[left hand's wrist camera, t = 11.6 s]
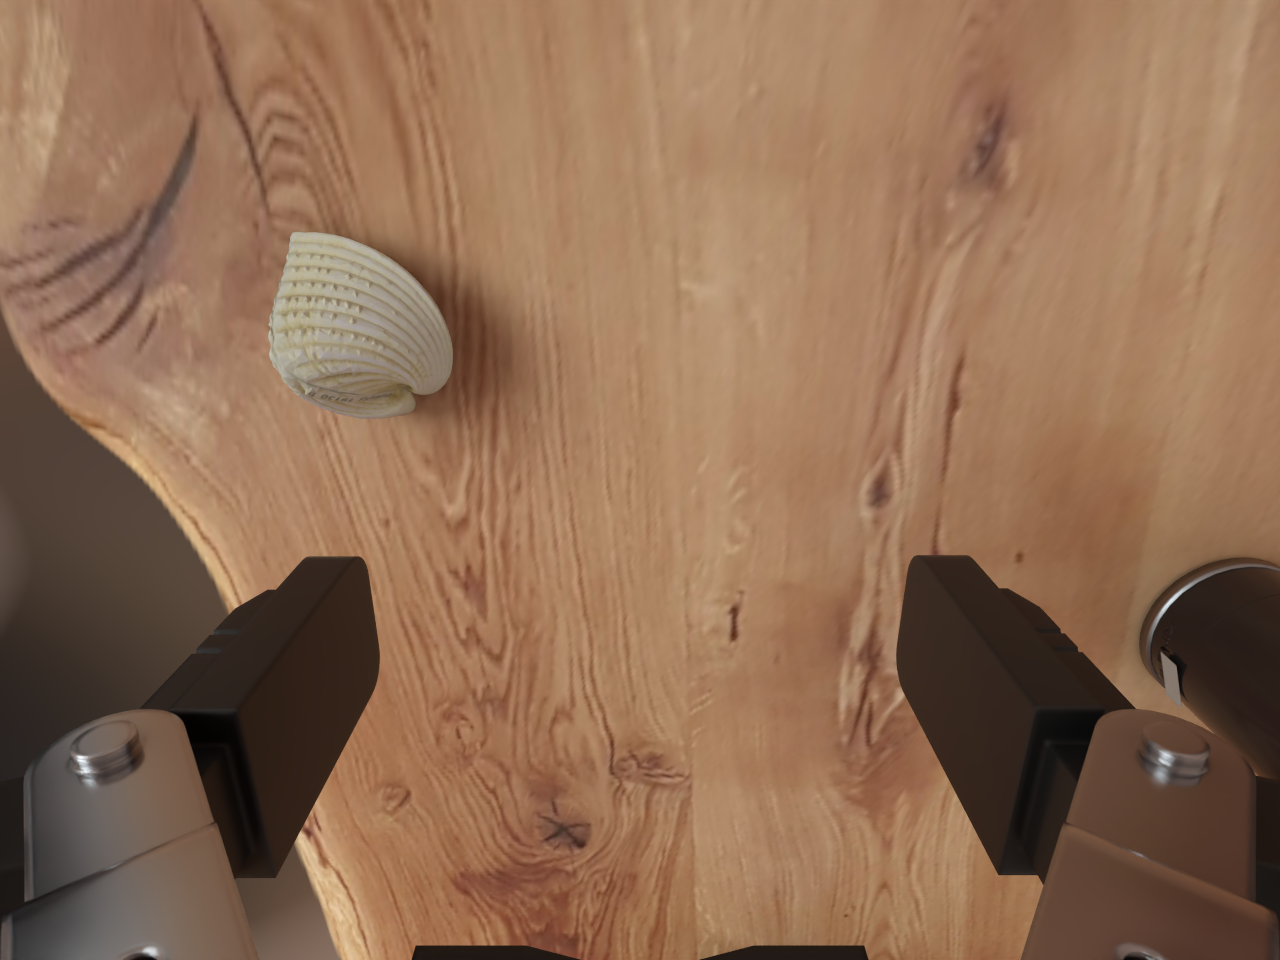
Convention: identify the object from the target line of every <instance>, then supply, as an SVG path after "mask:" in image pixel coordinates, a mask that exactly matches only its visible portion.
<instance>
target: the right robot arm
mask: <svg viewBox="0 0 1280 960" xmlns="http://www.w3.org/2000/svg"><path fill="white" fill-rule="evenodd" d="M1140 654H1141V658H1142V661H1143V663H1144V665H1145V667H1146V669H1147V670H1148V672H1149V673H1150V674H1151V675H1152V676H1153V677H1154V678H1155V679H1156V680H1157V681H1158V682H1159V683H1160V684H1161V685H1162V686H1163V687H1164V688H1165V689H1166V694H1167V695H1168V696H1169V697H1170V698H1171V699H1172V700H1173V701H1174V702H1175V703H1176V704H1177V705H1178V706H1179V707H1180V708H1181V709H1182V707H1181V702H1182V703H1183V704H1184V705H1185V706H1187V707H1188V708H1189V709H1190V710H1191V711H1192V712H1193V713H1194V714H1195V715H1196V716H1197V717H1198V718H1199V719H1200V720H1201V721H1202V722H1203V723H1204V724H1205V725H1206V726H1207V727H1208V728H1209V729H1210V730H1211V731H1212V732H1213V733H1214V734H1215V735H1217V736H1218V737H1220V738H1221V739H1223V740H1224V741H1226V742H1227V743H1229V744H1230V745H1231V746H1232V747H1234V748H1235V749H1236V750H1237V751H1238V752H1239V753H1240V754H1241V755H1242V756H1243V757H1244V758H1245V759H1246V760H1247V761H1248V763H1249V764H1250V765H1251V767H1252V769H1253V771H1254V772H1255V773H1256V774H1257V775H1258V776H1260V777H1265V778H1269V779H1274V780H1279V781H1280V567H1278V566H1276V565H1274V564H1271V563H1269V562H1266V561H1262V560H1258V559H1250V558H1235V559H1227V560H1221V561H1217V562H1213V563H1210V564H1207V565H1205V566H1202V567H1200V568H1198V569H1195V570H1194V571H1192V572H1190V573H1188V574H1186V575H1185V576H1183V577H1181V578H1180V579H1179V580H1177V581H1176V582H1174V583H1173V584H1172V585H1171V586H1170V587H1168V588H1167V589H1166V590H1165V591H1164V592H1163V593H1162V594H1161V596H1160V597H1159V598H1158V599H1157V600H1156V602H1155V603H1154V604H1153V606H1152V607H1151V609H1150V610H1149V612H1148V614H1147V616H1146V618H1145V620H1144V623H1143V626H1142V629H1141V634H1140Z"/></svg>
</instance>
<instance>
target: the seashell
mask: <svg viewBox="0 0 1280 960" xmlns="http://www.w3.org/2000/svg"><path fill="white" fill-rule="evenodd" d="M286 258H287V263H286V264H285V267H284V274H283V277H282V279H281V281H280V283H279V290H278V293H277V295H276V297H275V299H274V307H273V309H272V310H273V312H272V314H271V315H270V323H269V326H270V327H271V329H270V331H269V341H270V344H271V349H270V352H269V355H270V359H271V361H272V363H273V366H274V367H275V368H276V369H277V370H278V372H280V374H281V377H282V379H283V381H284V382H285V383H286V384H287V385H288V386H289V388H290V389H292V391H293V392H294V393H295V394H297V395H298V396H299V397H301V398H303V399H304V400H306V401H308V402H310V403H312V404H314V405H316V406H318V407H320V408H322V409H325V410H328V411H332V412H335V413H338V414H342V415H346V416H351V417H355V418H359V419H381V418H389V417H394V416H401V415H406V414H409V413H411V412H412V411H413V410H414V409H415V405H416V400H415V398H414V396H413V394H412V392H413V393H415V394H419V395H429V394H432V393H435V392H437V391H438V390H440V389H441V388H442V387H443V386H444V385H445V383H446V382H447V380H448V378H449V376H450V374H451V370H452V363H453V348H452V341H451V337H450V333H449V330H448V327H447V325H446V322H445V320H444V318H443V316H442V314H441V312H440V310H439V308H438V306H437V305H436V303H435V302H434V300H433V299H432V297H431V296H430V295H429V293H428V292H427V291H426V290H425V289H424V288H423V286H422V285H421V284H420V283H419V282H418V281H417V280H416V279H415V278H414V277H413V276H412V275H411V274H410V273H409V272H408V271H407V270H405V269H404V268H403V267H402V266H400V265H399V264H398V263H397V262H395V261H393V260H392V259H391V258H389V257H388V256H386V255H385V254H383V253H381V252H379V251H377V250H375V249H373V248H371V247H369V246H367V245H364V244H362V243H360V242H357V241H354V240H352V239H349V238H345V237H341V236H337V235H333V234H326V233H318V232H308V233H306V232H293V233H292V235H291V237H290V245H289V252H288V254H287V257H286Z"/></svg>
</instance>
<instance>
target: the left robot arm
mask: <svg viewBox="0 0 1280 960" xmlns="http://www.w3.org/2000/svg"><path fill="white" fill-rule="evenodd" d="M1060 630H1061V629H1060V628H1059V627H1058V626H1057V625H1056V624H1055V623H1054V622H1053V621H1052V620H1051V618H1050V617H1049V616H1048V615H1047V614H1046V613H1045V612H1044V611H1043V610H1042V609H1041V608H1040V607H1039V606H1037V605H1035V604H1033V603H1032V602H1030V601H1028V600H1027V599H1025V598H1023V597H1021V596H1020V595H1018V594H1016V593H1015V592H1013V591H1011V590H1009V589H1008V588H998V587H997V586H996V584H995V583H994V582H993V581H992V580H991V579H990V578H989V577H988V575H987V574H986V573H985V572H984V571H983V570H982V569H981V568H980V566H979V565H978V564H977V563H976V562H975V561H974V560H973V559H972V558H971V557H970V556H967V555H917V556H914V557H913V558H912V560H911V562H910V564H909V568H908V572H907V579H906V586H905V593H904V600H903V607H902V614H901V621H900V628H899V635H898V642H897V652H896V660H897V671H898V676H899V681H900V684H901V687H902V690H903V692H904V694H905V696H906V698H907V700H908V702H909V704H910V706H911V707H912V709H913V711H914V713H915V715H916V717H917V719H918V721H919V723H920V725H921V727H922V729H923V731H924V732H925V734H926V736H927V738H928V740H929V742H930V744H931V746H932V748H933V750H934V752H935V754H936V756H937V758H938V759H939V761H940V763H941V765H942V767H943V769H944V771H945V773H946V775H947V777H948V779H949V781H950V783H951V785H952V786H953V788H954V790H955V792H956V794H957V796H958V798H959V800H960V802H961V804H962V806H963V808H964V810H965V812H966V813H967V815H968V817H969V819H970V821H971V823H972V825H973V827H974V829H975V831H976V833H977V835H978V837H979V839H980V840H981V842H982V844H983V846H984V848H985V850H986V852H987V854H988V856H989V858H990V860H991V862H992V864H993V866H994V867H995V869H996V871H997V873H998V875H1038V876H1039V878H1040V880H1041V882H1042V883H1043V885H1044V886H1043V889H1042V892H1041V896H1040V899H1039V902H1038V905H1037V908H1036V912H1035V915H1034V918H1033V921H1032V925H1031V928H1030V931H1029V934H1028V937H1027V941H1026V944H1025V947H1024V950H1023V954H1022V957H1021V960H1280V781H1279V780H1274V779H1269V778H1265V777H1260V776H1255V773H1254V771H1253V769H1252V767H1251V765H1250V764H1249V763H1248V761H1247V760H1246V759H1245V758H1244V757H1243V756H1242V755H1241V754H1240V753H1239V752H1238V751H1237V750H1236V749H1235V748H1234V747H1232V746H1231V745H1230V744H1229V743H1227V742H1226V741H1224V740H1223V739H1221V738H1220V737H1218V736H1217V735H1215V734H1213V733H1212V732H1210V731H1208V730H1206V729H1204V728H1202V727H1200V726H1198V725H1196V724H1193V723H1191V722H1189V721H1186V720H1183V719H1181V718H1178V717H1175V716H1171V715H1168V714H1164V713H1159V712H1155V711H1149V710H1141V709H1136V708H1135V707H1134V706H1133V705H1132V704H1131V703H1130V702H1129V701H1128V700H1127V699H1126V698H1125V697H1124V696H1123V695H1122V694H1121V693H1120V692H1119V690H1118V689H1117V688H1116V687H1115V686H1114V685H1113V684H1112V683H1111V682H1110V681H1109V680H1108V679H1107V678H1106V677H1105V676H1104V675H1103V674H1102V672H1101V671H1100V670H1099V669H1098V668H1097V667H1096V666H1095V665H1094V664H1093V663H1092V662H1091V661H1090V660H1089V659H1088V658H1087V657H1086V656H1085V654H1084V653H1083V652H1078V647H1077V646H1076V645H1075V644H1074V643H1073V642H1072V641H1071V640H1070V639H1069V638H1068V636H1067V635H1066V634H1061V632H1060ZM379 663H380V651H379V643H378V636H377V629H376V622H375V615H374V608H373V601H372V594H371V588H370V581H369V574H368V569H367V566H366V563H365V561H364V560H363V559H362V558H361V557H306V558H305V559H303V560H302V561H301V562H300V564H299V565H298V566H297V567H296V568H295V569H294V570H293V571H292V573H291V574H290V575H289V576H288V577H287V578H286V579H285V580H284V581H283V583H282V584H281V585H280V586H279V587H278V588H277V589H276V590H266V591H265V592H263V593H261V594H260V595H258V596H256V597H254V598H253V599H251V600H249V601H247V602H246V603H244V604H242V605H241V606H239V607H237V608H235V609H234V610H233V611H232V612H231V614H230V615H229V616H228V617H227V618H226V619H225V620H224V621H223V622H222V623H221V624H220V625H219V626H218V627H217V628H216V629H215V630H214V635H210V636H209V637H208V638H207V639H206V640H205V641H204V642H203V643H202V644H201V645H200V646H199V647H198V648H197V652H196V654H191V655H190V657H189V658H188V659H187V660H186V661H185V662H184V663H183V664H182V665H181V666H180V667H179V668H178V669H177V670H176V671H175V672H174V673H173V674H172V675H171V676H170V677H169V679H168V680H167V681H166V682H165V683H164V684H163V685H162V686H161V687H160V688H159V689H158V690H157V691H156V692H155V693H154V694H153V695H152V696H151V698H150V699H149V700H148V701H147V702H146V703H145V704H144V705H143V706H142V707H141V708H140V709H139V710H131V711H125V712H121V713H116V714H112V715H109V716H105V717H102V718H99V719H97V720H94V721H91V722H89V723H87V724H84V725H82V726H80V727H78V728H76V729H74V730H72V731H70V732H68V733H67V734H65V735H63V736H62V737H60V738H59V739H57V740H56V741H54V742H53V743H51V744H50V745H49V746H48V747H46V748H45V749H44V750H43V751H42V752H41V753H40V754H39V755H38V756H37V757H36V758H35V759H34V760H33V762H32V763H31V764H30V766H29V767H28V769H27V771H26V773H25V776H24V777H21V778H16V779H12V780H6V781H2V782H0V960H259V957H258V954H257V950H256V947H255V944H254V941H253V938H252V934H251V931H250V928H249V925H248V921H247V918H246V915H245V912H244V909H243V905H242V902H241V899H240V896H239V892H238V889H237V886H236V883H235V879H236V878H276V876H277V874H278V872H279V871H280V869H281V867H282V865H283V863H284V861H285V859H286V857H287V855H288V853H289V851H290V850H291V848H292V846H293V844H294V842H295V840H296V838H297V836H298V834H299V832H300V831H301V829H302V827H303V825H304V823H305V821H306V819H307V817H308V815H309V813H310V812H311V810H312V808H313V806H314V804H315V802H316V800H317V798H318V796H319V794H320V792H321V791H322V789H323V787H324V785H325V783H326V781H327V779H328V777H329V775H330V773H331V772H332V770H333V768H334V766H335V764H336V762H337V760H338V758H339V756H340V754H341V752H342V751H343V749H344V747H345V745H346V743H347V741H348V739H349V737H350V735H351V733H352V732H353V730H354V728H355V726H356V724H357V722H358V720H359V718H360V716H361V714H362V713H363V711H364V709H365V707H366V705H367V703H368V701H369V699H370V697H371V695H372V693H373V691H374V689H375V686H376V682H377V678H378V673H379ZM412 960H579V959H576V958H572V957H568V956H564V955H560V954H556V953H552V952H549V951H545V950H541V949H537V948H533V947H529V946H416V947H415V950H414V954H413V957H412ZM701 960H868V957H867V954H866V950H865V947H864V946H751V947H747V948H743V949H739V950H735V951H731V952H728V953H724V954H720V955H716V956H712V957H708V958H704V959H701Z"/></svg>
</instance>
